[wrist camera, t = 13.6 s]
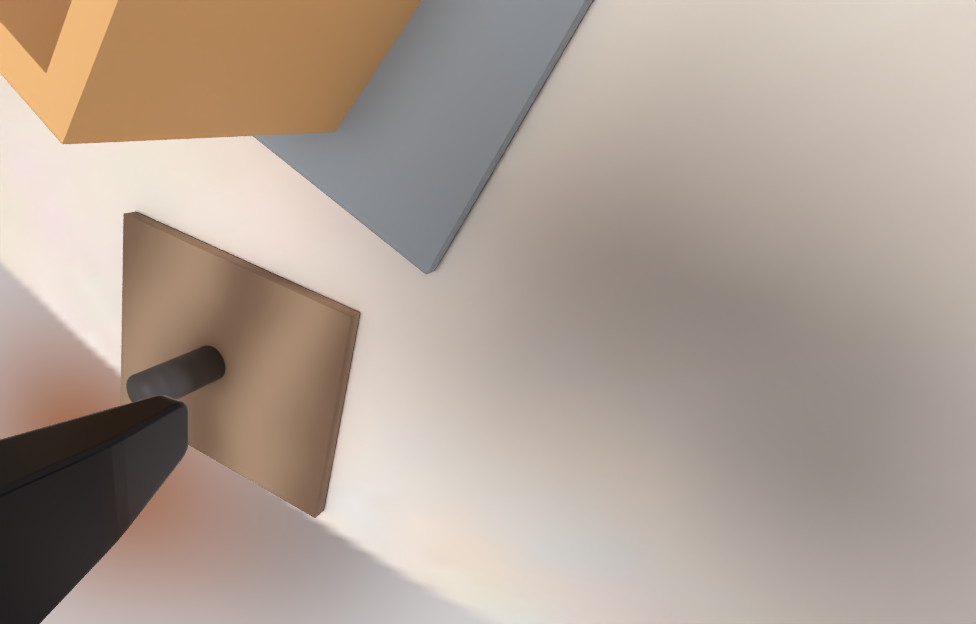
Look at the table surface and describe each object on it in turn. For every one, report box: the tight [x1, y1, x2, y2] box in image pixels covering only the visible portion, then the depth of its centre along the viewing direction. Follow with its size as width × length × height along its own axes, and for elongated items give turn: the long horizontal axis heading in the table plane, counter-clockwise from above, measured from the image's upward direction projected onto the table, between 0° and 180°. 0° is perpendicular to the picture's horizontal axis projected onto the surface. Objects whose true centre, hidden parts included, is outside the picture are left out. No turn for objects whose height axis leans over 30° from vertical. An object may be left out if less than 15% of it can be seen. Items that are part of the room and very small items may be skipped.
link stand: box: [121, 212, 360, 518], centre depth 26 cm, size 12×10×4 cm
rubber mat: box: [253, 0, 593, 274], centre depth 21 cm, size 14×12×1 cm
